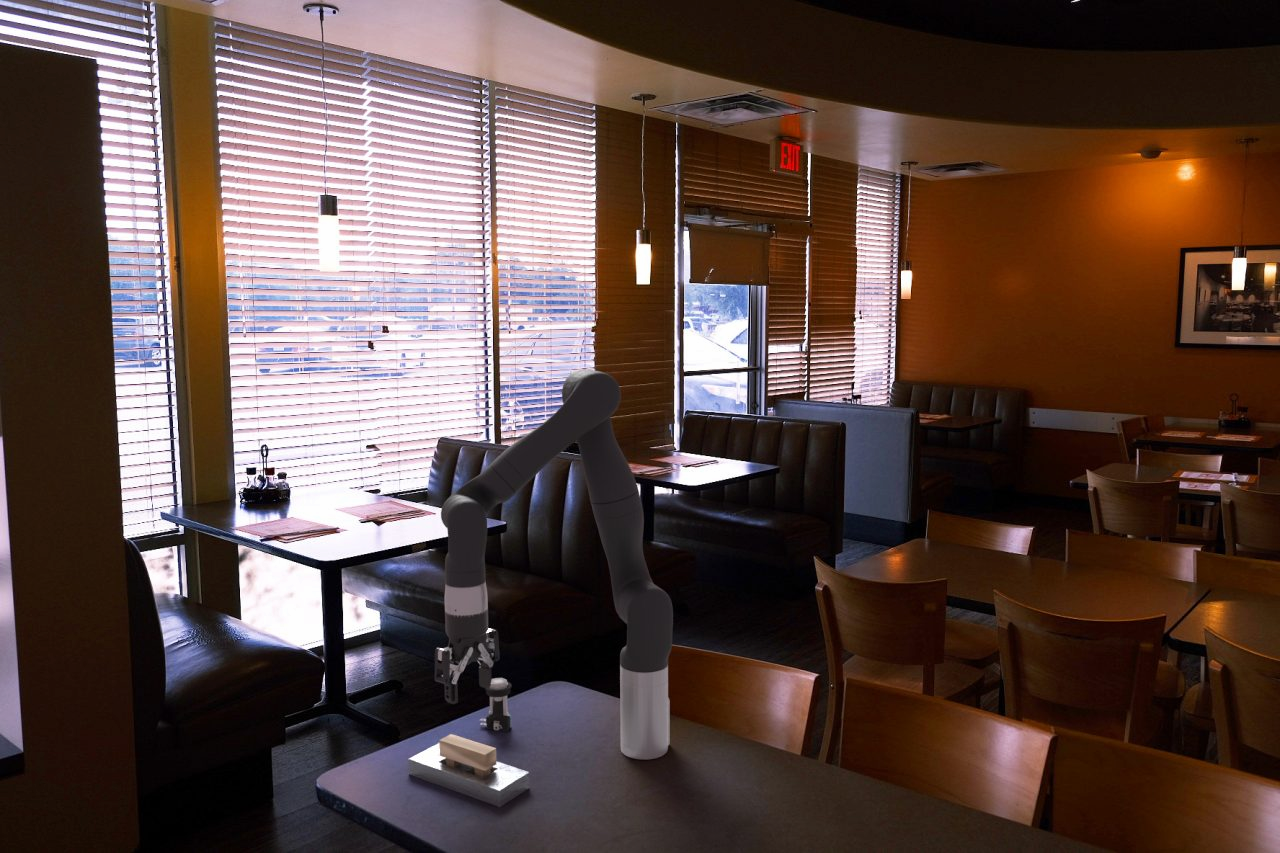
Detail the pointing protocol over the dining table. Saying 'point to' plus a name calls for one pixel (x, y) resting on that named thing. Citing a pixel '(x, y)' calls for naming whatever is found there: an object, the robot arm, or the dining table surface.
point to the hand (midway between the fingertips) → (469, 694)
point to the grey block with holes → (470, 777)
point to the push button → (498, 705)
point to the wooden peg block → (468, 754)
